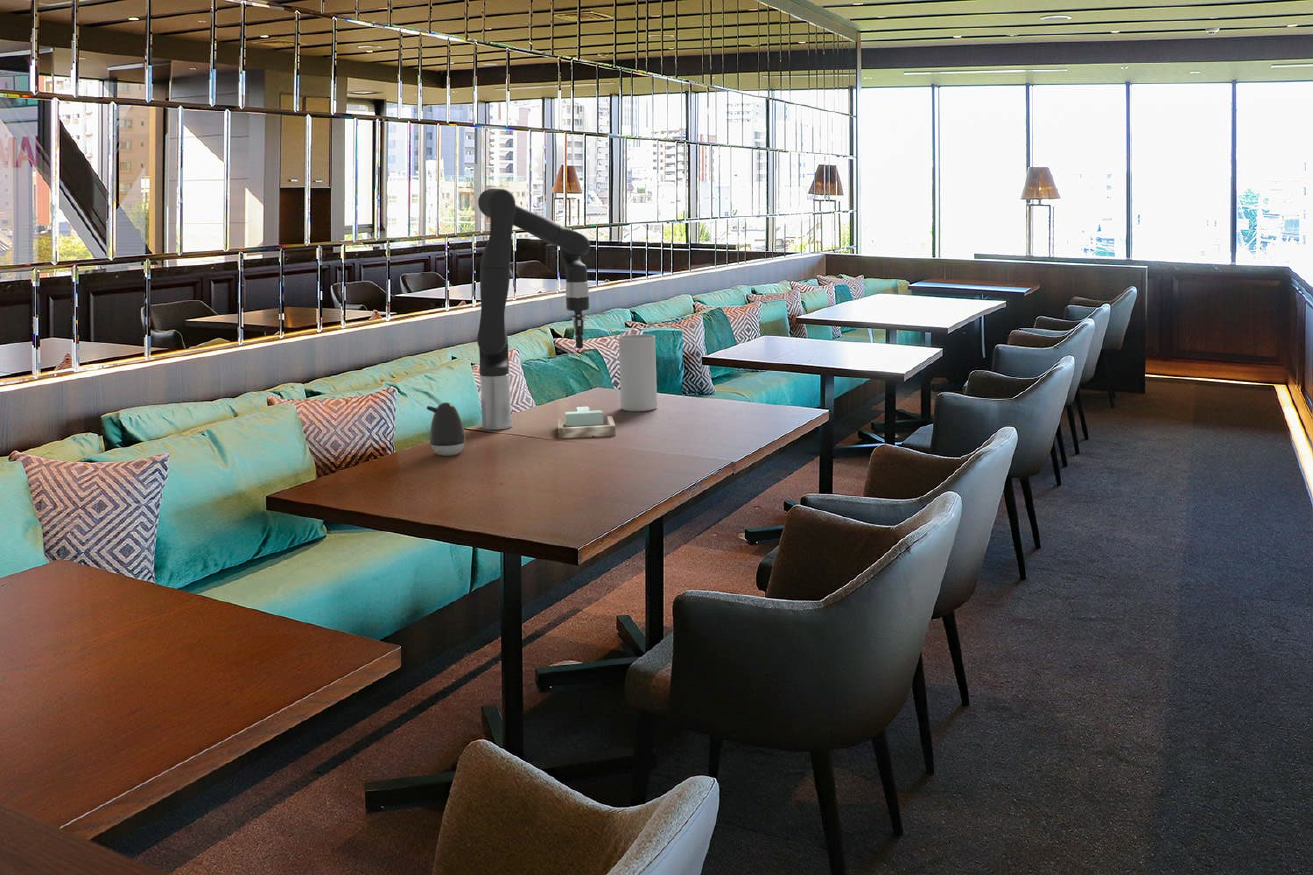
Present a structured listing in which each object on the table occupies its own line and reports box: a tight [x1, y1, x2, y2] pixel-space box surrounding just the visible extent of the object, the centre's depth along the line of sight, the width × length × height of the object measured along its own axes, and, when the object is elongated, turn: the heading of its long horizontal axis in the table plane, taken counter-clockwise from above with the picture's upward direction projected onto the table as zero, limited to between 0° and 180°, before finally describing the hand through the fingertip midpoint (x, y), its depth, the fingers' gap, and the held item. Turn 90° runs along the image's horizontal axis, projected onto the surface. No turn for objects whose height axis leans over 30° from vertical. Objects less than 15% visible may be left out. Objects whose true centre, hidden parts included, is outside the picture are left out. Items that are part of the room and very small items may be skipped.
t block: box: [564, 406, 604, 427], centre depth 364 cm, size 12×12×4 cm
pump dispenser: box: [426, 402, 466, 457], centre depth 320 cm, size 10×10×15 cm
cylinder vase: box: [618, 334, 658, 412], centre depth 383 cm, size 12×12×25 cm
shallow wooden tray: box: [557, 415, 616, 439], centre depth 348 cm, size 17×16×3 cm
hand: (579, 347), depth 371 cm, fingers open, 2 cm apart
